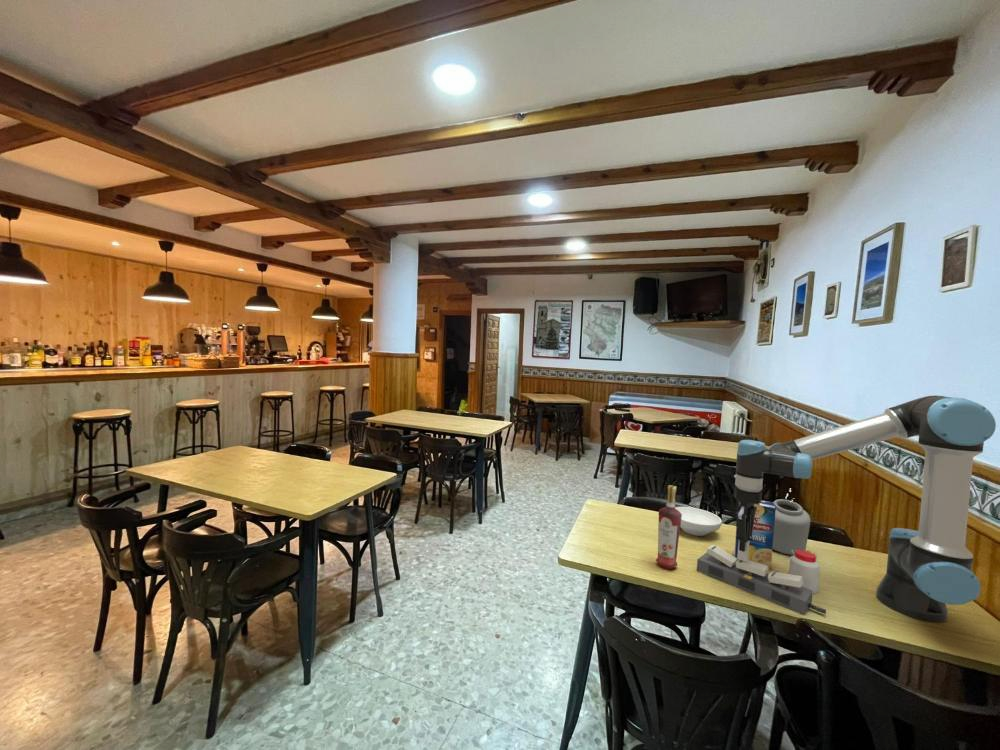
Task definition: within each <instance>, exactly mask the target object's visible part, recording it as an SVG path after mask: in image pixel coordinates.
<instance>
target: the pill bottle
mask: <svg viewBox="0 0 1000 750" xmlns="http://www.w3.org/2000/svg"><path fill="white" fill-rule="evenodd" d="M788 568H789V569H788V574H791V575H798V576H803V581H804V583H803V584H802V587H804V588H807V589H810V590H813V592H812V594H817V593H818V591H819V583H820V582H819V581H820V572H821V571H820V570H821V564H820V563H819V562H818V561H817V555H816V554H815V553H813V552H811V551H807V550H806V549H805V550H795V555H790V559H789V566H788Z"/></svg>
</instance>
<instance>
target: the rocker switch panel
mask: <svg viewBox="0 0 1000 750" xmlns="http://www.w3.org/2000/svg"><path fill="white" fill-rule="evenodd" d="M696 571H697V572H700V573H701V572H702V573H701V574H704V575H706V574H707V575H706V576H709V577H711V578H713V577H714V578H713V579H716V580H719V581H721V582H723V583H726V584H729V586H733V587H735V586H736V588H738V589H740V588H741V590H742V589H743V590H742V591H745V592H747V593H750V594H752V595H754V596H758V597H760V598H762V599H764V600H766V601H769V602H771V603H775V604H776V605H779V606H782V607H783V608H786V609H788V610H791V611H793V612H796V613H798V614H799V615H800V614H801V615H802V616H805V615H806V614H807V612H808V610H809V609H811V610H814V611H817V612H819V613H821V614H823V615H826V614H827V610H826V609H825V608H822V607H820V606H817V605H815V604H812V600H813V593H812V592H813V590H810V589H807V588H804V587H802V586H801V587H800V588H799V587H793V586H788V585H782V584H776V583H770V582H769V580H768V575H769V574H770V573H767V574H766V575H765V577H764V576H761V575H758V574H755V573H752V572H749V571H746V570H742V569H739V568H736V564H734V565H733V566H732V567H729V566H728V565H726V564H724V563H723V562H721V561H719V560H718V559H716V558H715V557H713V556H711V555H710V554H708V553H707V552H705V553H704V554H702V555H701V556H700V557H698V558H697V563H696Z"/></svg>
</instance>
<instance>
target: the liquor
mask: <svg viewBox="0 0 1000 750" xmlns="http://www.w3.org/2000/svg"><path fill="white" fill-rule="evenodd" d="M676 493H677V486H676V485H673V484H671V485H670V484H668V485H667V498H666V504H665V506H664V507H662V508H659V509H658V526H657V527H658V535H657V536H658V537H657V539H658V541H657V558H655V561H656V562H657V564H658V565H659V566H660V567H661V568H663V569H666V570H672V569H675V568H677V566H678V562H677V559H678V558H677V557H678V548H679V547H678V546H679V541H680V540H679V538H680V532H681V527H680V525H681V517H682V514H681V513H680V512H679V511H678V510H677V509H675V507H676Z"/></svg>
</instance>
